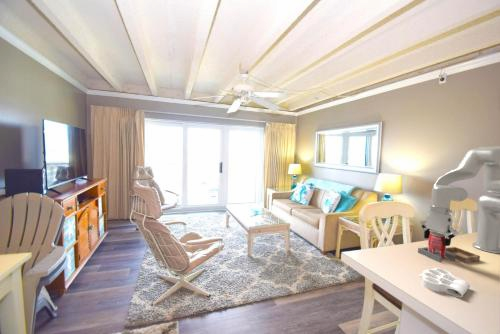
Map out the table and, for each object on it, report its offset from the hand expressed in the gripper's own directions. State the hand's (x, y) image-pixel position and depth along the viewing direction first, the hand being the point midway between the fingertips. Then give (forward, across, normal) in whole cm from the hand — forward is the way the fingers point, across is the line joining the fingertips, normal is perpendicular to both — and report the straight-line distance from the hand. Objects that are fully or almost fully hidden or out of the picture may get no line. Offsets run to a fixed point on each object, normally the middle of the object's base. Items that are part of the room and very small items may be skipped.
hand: (436, 241), depth 114 cm
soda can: (+8, 0, -1) cm, 8 cm away
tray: (+8, -3, -13) cm, 15 cm away
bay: (+8, 0, -1) cm, 8 cm away
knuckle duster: (+9, -19, +25) cm, 33 cm away
